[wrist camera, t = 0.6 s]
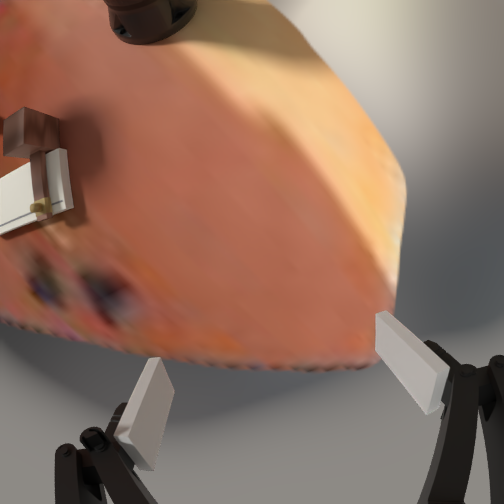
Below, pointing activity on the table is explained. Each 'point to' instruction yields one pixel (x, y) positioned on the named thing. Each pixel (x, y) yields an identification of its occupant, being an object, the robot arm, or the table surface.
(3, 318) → the table surface
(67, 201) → the board
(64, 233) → the table surface
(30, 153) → the block
